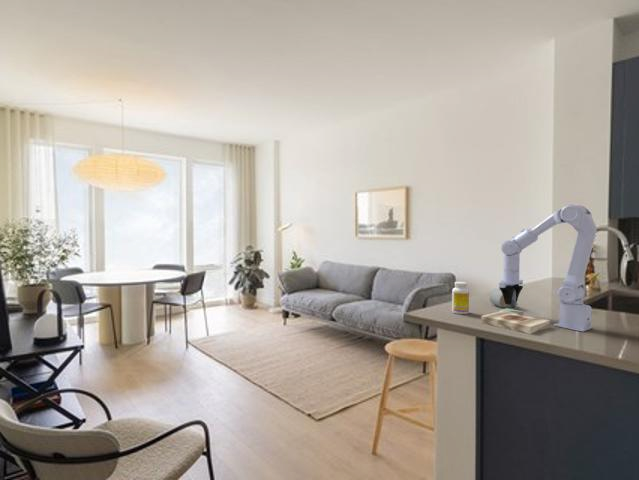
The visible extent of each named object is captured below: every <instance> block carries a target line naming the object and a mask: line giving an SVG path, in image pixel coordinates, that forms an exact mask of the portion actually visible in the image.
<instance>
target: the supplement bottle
mask: <svg viewBox="0 0 639 480" xmlns="http://www.w3.org/2000/svg"><path fill="white" fill-rule="evenodd" d="M469 295H470V291H469V289H468V288H467V282H466V281H465V282H464V281H455V282H454V287H453V288H452V290H451V312H452V313H453V314H455V315H468V314H469V310H470V309H469V308H470V307H469V306H470V305H469V304H470V302H469V301H470V300H469V299H470V296H469Z"/></svg>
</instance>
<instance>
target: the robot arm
mask: <svg viewBox="0 0 639 480" xmlns="http://www.w3.org/2000/svg"><path fill="white" fill-rule="evenodd" d="M566 223H567V224H568V225H570V226H571V227H572V228H574V230H575V231H576V232H577V236H576V240H575V244H574V248H573V252H572V255H571V260H570V263H569V267H568V271H567V274H566V276H565V278H564V279H563V282H562V283H561V286H560V287H559V288H558V290H557V297H558V299H559V303H558V304H559V305H558V322H557V323H554V324H553V326H555V327H559V328H564V329H569V330H574V331H578V332H586V331H588V330H591V329H592V328H593V326H592V322H593V317H592V316H593V309H592V306H590V305H588V304H585V303H584V301H583V298H584V297H585V295H586V289H585V283H586V281H585V275H586V272H587V268H588V264H589V261H590V257H591V253H592V250H593V246H594V242H595V238H596V236H597V235H596V234H597V233H598V231H597V226H596V223H595V221H594V218H593V216H592V212H591V211H590V210H589V209H588V208H586V206H583V205H582V204H581V205H578V204H577V205H575V204H566V205H564V206H563V207H562V208H560V209H558V210H555V212H554V213H551V215H549V216H547V218H545V219H544V220H542V221H541V222H540V223H539V224H537V225H535V226H534V227H533V228H523V229H521V230H520V233H518V234H517V235H515V236H512V237H511V238H510V240H505V241H504V242H503V243H502V244H501V247H500V248H501V249H500V250H501V252H502V253H503V272H502V273H503V278H502V279H501V280H500V282H499V283H498V289H500V290H501V292H502V294H503V297H504V301H505V304H508V305H511V303H512V296H513V293H514V290H516V303H517V304H518V299H519V297H520V293H521V291H522V290H523V287H524V286H523V285H524V279H520V254H521V253H522V252H523V250H524V249H526V248H528V247H530V246H531V245H533V244H534V243H535V242H537V241H538V239H539V236H540V235H542V234H543V233H545V232H546V231H548V230H549V229H551V228H553V227H555V226H557V225H558V224H559V225H560V224H566Z"/></svg>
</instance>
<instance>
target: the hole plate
mask: <svg viewBox="0 0 639 480" xmlns="http://www.w3.org/2000/svg"><path fill="white" fill-rule="evenodd" d="M480 319H481V321H480V322H481V323H482V324H486V325H490V326H495V327H498V328H502V329H503V328H504V329H507V330H508V329H509V330H512V331H515V332H521V333H524V334H529V335H532V334H534V333H537V332H540V331H543V330H546V329H549V328H550V320H549V319H546V318H545V319H544V318H538V317H532V316H528V315H525V314H524V315H519V314H514V313H509V312H504V311H499V312H498V311H496V312H492V313H487V314H485V315H481V316H480Z"/></svg>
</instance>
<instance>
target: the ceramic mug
mask: <svg viewBox="0 0 639 480" xmlns="http://www.w3.org/2000/svg"><path fill="white" fill-rule="evenodd" d="M489 301H490V302H491V304H493V305H494V306H497V307H499V308H502V309H506V308H508V309H510V308H509V307H506V304H505V301H504V297H503V294H502V292H501V290H500V289H499V288H494V289H493V290H492V291H491V292H490V294H489ZM517 306H518V302H517V303H516V308H517Z"/></svg>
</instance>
